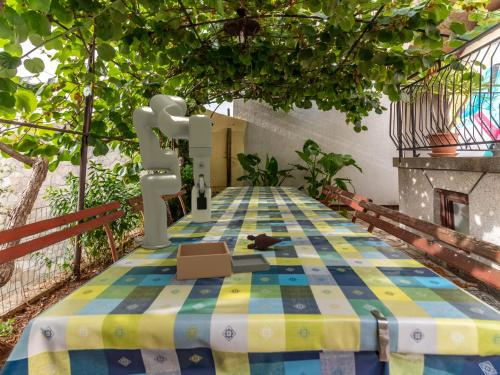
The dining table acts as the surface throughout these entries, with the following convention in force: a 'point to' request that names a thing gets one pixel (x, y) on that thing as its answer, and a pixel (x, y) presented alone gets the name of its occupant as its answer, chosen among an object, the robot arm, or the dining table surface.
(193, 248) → the brown square frame
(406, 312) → the dining table surface
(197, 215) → the can
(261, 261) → the tray
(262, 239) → the icecream
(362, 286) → the dining table surface
